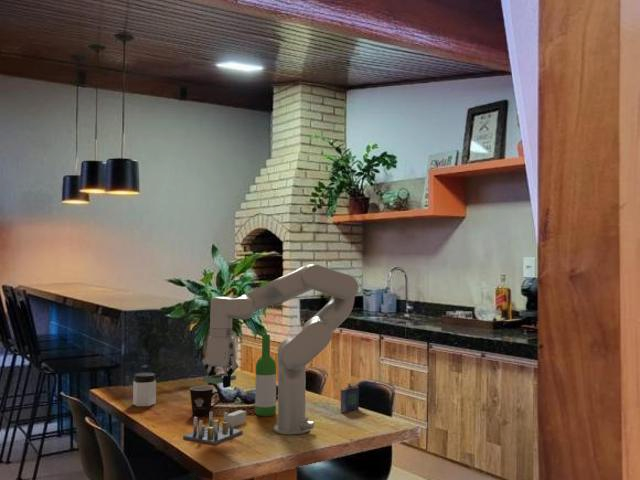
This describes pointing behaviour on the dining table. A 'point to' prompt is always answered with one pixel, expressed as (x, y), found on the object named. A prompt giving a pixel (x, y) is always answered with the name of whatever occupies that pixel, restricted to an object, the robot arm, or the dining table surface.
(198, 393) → the coffee mug
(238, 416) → the stand
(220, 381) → the board
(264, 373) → the wine bottle
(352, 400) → the flask
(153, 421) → the dining table surface
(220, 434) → the vial rack
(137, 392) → the jar
